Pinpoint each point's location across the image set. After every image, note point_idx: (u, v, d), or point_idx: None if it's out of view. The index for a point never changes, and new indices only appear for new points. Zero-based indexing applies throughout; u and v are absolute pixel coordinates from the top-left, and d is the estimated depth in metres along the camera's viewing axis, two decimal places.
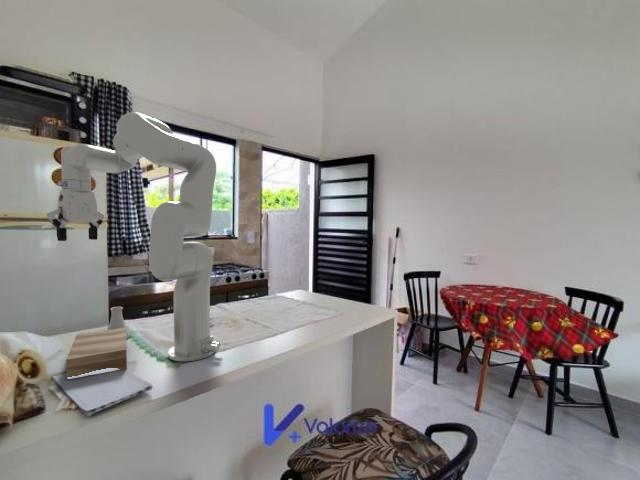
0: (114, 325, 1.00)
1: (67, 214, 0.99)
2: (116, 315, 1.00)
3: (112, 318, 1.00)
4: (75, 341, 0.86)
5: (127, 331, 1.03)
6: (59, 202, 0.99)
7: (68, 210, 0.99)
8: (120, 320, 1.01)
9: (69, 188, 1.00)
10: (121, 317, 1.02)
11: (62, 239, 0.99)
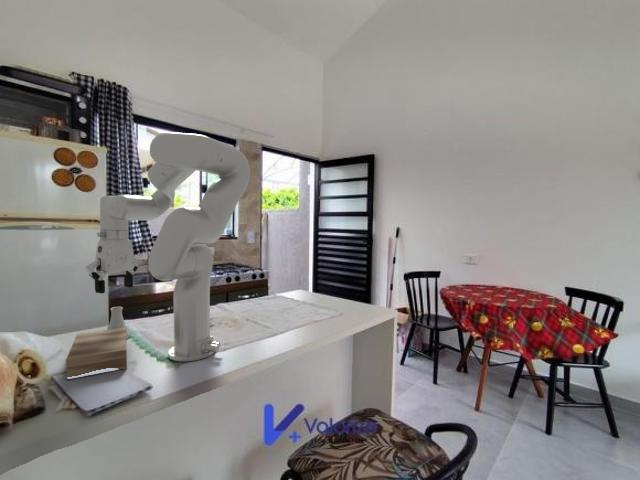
0: (114, 325, 1.00)
1: (106, 266, 0.96)
2: (116, 315, 1.00)
3: (112, 318, 1.00)
4: (75, 341, 0.86)
5: (127, 331, 1.03)
6: (98, 253, 0.96)
7: (107, 262, 0.96)
8: (120, 320, 1.01)
9: (108, 239, 0.97)
10: (121, 317, 1.02)
11: (100, 291, 0.96)
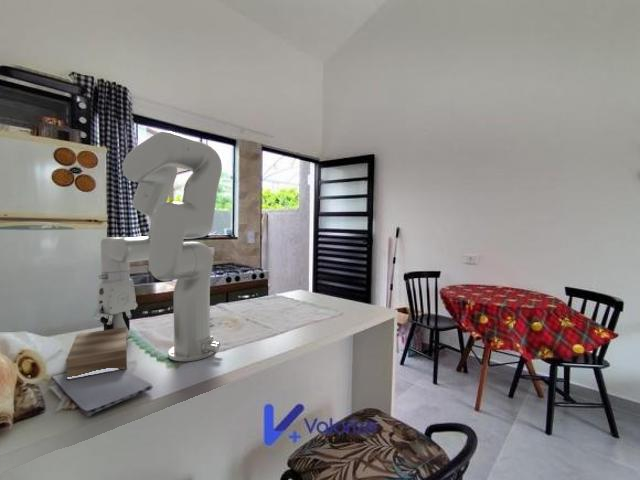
0: (114, 325, 1.00)
1: (108, 308, 0.96)
2: (116, 314, 1.00)
3: (112, 318, 1.00)
4: (75, 341, 0.86)
5: (127, 331, 1.03)
6: (99, 296, 0.97)
7: (109, 304, 0.96)
8: (120, 320, 1.01)
9: (109, 281, 0.97)
10: (121, 317, 1.02)
11: None
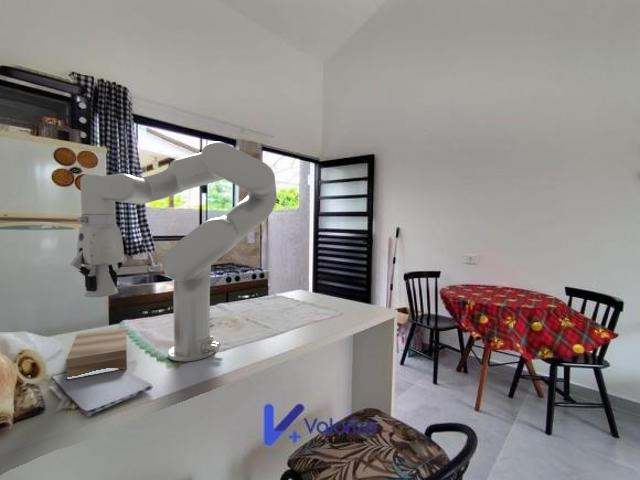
0: (97, 278, 0.85)
1: (89, 257, 0.81)
2: (99, 266, 0.86)
3: (95, 270, 0.86)
4: (75, 341, 0.86)
5: (113, 286, 0.88)
6: (79, 242, 0.82)
7: (90, 252, 0.82)
8: (105, 273, 0.86)
9: (90, 224, 0.83)
10: (106, 270, 0.87)
11: (91, 289, 0.84)
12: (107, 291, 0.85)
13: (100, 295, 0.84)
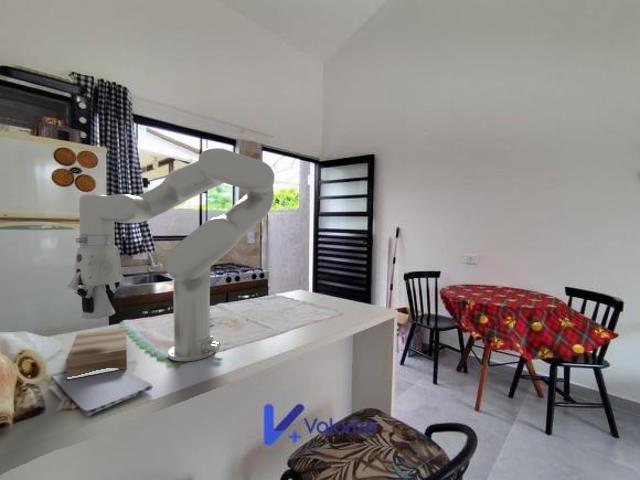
0: (95, 299, 0.84)
1: (87, 278, 0.80)
2: (97, 287, 0.84)
3: (92, 291, 0.84)
4: (75, 341, 0.86)
5: (110, 307, 0.87)
6: (77, 263, 0.81)
7: (88, 273, 0.80)
8: (102, 293, 0.85)
9: (89, 245, 0.81)
10: (103, 290, 0.86)
11: (88, 311, 0.83)
12: (104, 313, 0.84)
13: (97, 317, 0.83)
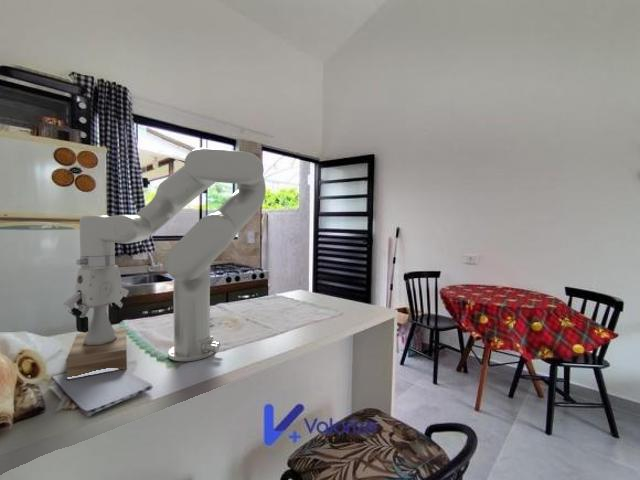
0: (97, 325, 0.84)
1: (88, 300, 0.80)
2: (99, 312, 0.85)
3: (94, 316, 0.85)
4: (75, 341, 0.86)
5: (112, 332, 0.87)
6: (78, 284, 0.81)
7: (89, 295, 0.81)
8: (104, 319, 0.85)
9: (90, 267, 0.82)
10: (105, 315, 0.86)
11: (83, 330, 0.81)
12: (106, 338, 0.85)
13: (99, 343, 0.83)
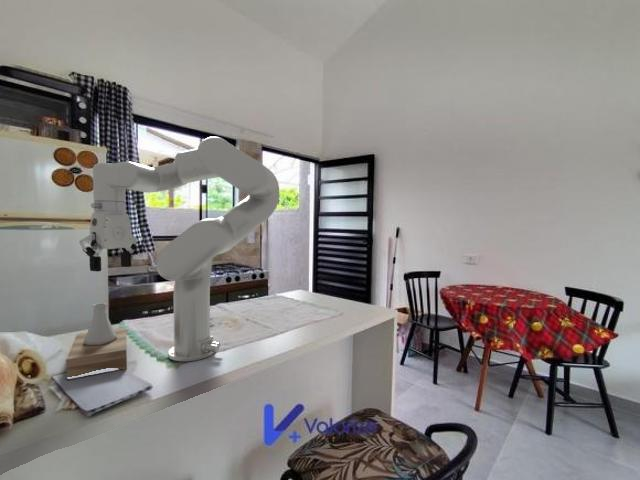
0: (97, 325, 0.84)
1: (102, 241, 0.86)
2: (99, 312, 0.85)
3: (94, 316, 0.85)
4: (75, 341, 0.86)
5: (112, 332, 0.87)
6: (92, 227, 0.86)
7: (103, 236, 0.86)
8: (104, 319, 0.85)
9: (103, 210, 0.87)
10: (105, 315, 0.86)
11: (96, 269, 0.86)
12: (106, 338, 0.85)
13: (99, 343, 0.83)
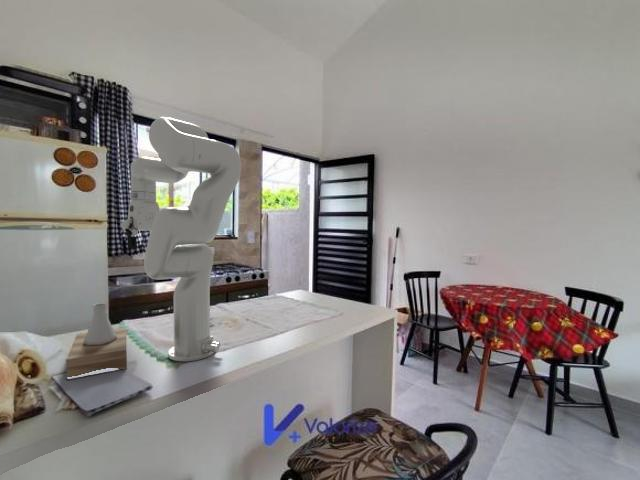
0: (97, 325, 0.84)
1: (138, 224, 1.05)
2: (99, 312, 0.85)
3: (94, 316, 0.85)
4: (75, 341, 0.86)
5: (112, 332, 0.87)
6: (130, 212, 1.06)
7: (138, 220, 1.05)
8: (104, 319, 0.85)
9: (139, 199, 1.06)
10: (105, 315, 0.86)
11: (133, 247, 1.06)
12: (106, 338, 0.85)
13: (99, 343, 0.83)
